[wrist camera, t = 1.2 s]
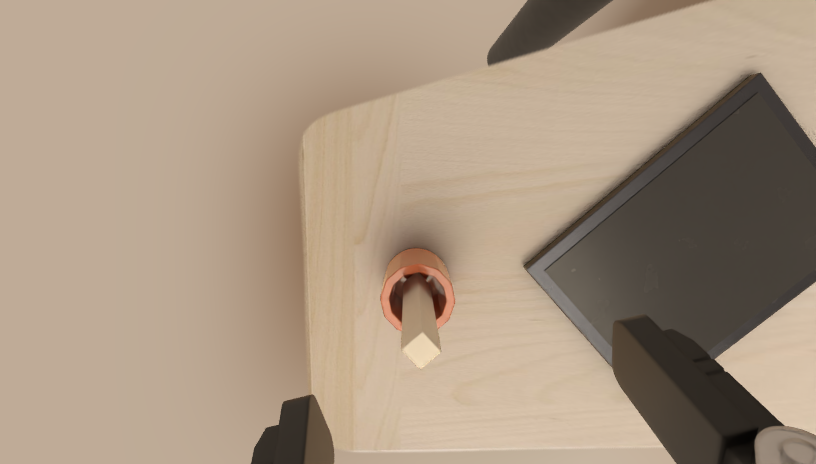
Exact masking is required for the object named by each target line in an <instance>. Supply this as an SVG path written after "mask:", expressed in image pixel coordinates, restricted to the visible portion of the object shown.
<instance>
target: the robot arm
mask: <svg viewBox="0 0 816 464" xmlns="http://www.w3.org/2000/svg"><path fill="white" fill-rule="evenodd" d="M612 367H613V371H614V374H615V377H616V379H617V381H618V383H619V385H620V387H621V388H622V390H623V391H624V392H625V394H626V395H627V396H628V398H629V399H630V400H631V402H632V403H633V405H634V406H635V407H636V409H637V410H638V411H639V413H640V414H641V416H642V417H643V418H644V420H645V421H646V422H647V424H648V425H649V427H650V428H651V429H652V431H653V432H654V433H655V435H656V436H657V437H658V439H659V440H660V442H661V443H662V444H663V446H664V447H665V448H666V450H667V451H668V453H669V454H670V455H671V457H672V458H673V459H674V461H675V462H676V463H677V464H816V435H814V434H812V433H809V432H807V431H804V430H801V429H798V428H794V427H788V426H784V425H783V424H782V423H781V422H780V421H779V420H777V419H776V418H775V417H774V416H773V415H772V414H771V413H770V412H769V411H768V410H767V409H766V408H765V407H764V406H763V405H762V404H761V403H760V402H759V401H757V400H756V399H755V398H754V397H753V396H752V395H751V394H750V393H749V392H748V391H747V390H746V389H745V388H744V387H743V386H742V385H741V384H740V383H738V382H737V381H736V380H735V379H734V378H733V377H732V376H731V375H730V374H729V373H728V372H725V371H724V368H723V367H722V366H721V365H719V364H718V363H717V362H716V361H715V360H714V359H711V358H710V355H709V354H708V353H707V352H706V351H705V350H704V349H703V348H702V347H700V346H699V345H698V344H697V343H696V342H695V341H694V340H693V339H691V338H689V337H687V336H685V335H683V334H681V333H679V332H677V331H675V330H673V329H668V330H664V331H663V330H662V329H661V328H660V327H659V326H658V325H657V324H656V323H655V322H654V321H653V320H652V319H651V318H650V317H649V316H647V315H645V314H641V315H637V316H633V317H629V318H625V319H621V320H616V321H614V323H613V334H612ZM251 464H334V447H333V441H332V437H331V433H330V431H329V428H328V426H327V424H326V421H325V419H324V416H323V414H322V412H321V409H320V407H319V405H318V402H317V400H316V398H315V396H314V395H313V394H312V395H308V396H304V397H300V398H296V399H292V400H287V401H284V402H283V404H282V409H281V415H280V421H279V425H276V426H271V427H268V428H266V429H265V431H264V432H263V434H262V436H261V438H260V440H259V441H258V443H257V444H256V446H255V448H254V452H253V457H252V462H251Z"/></svg>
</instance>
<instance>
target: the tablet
mask: <svg viewBox="0 0 816 464" xmlns="http://www.w3.org/2000/svg"><path fill="white" fill-rule="evenodd" d="M524 268H525V269H526V271H527V272H528V273H529V274H530V275H531V276H532V277H533V279H534V280H535V281H536V282H537V283H538V284H539V285H540V286H541V288H542V289H543V290H544V291H545V292H546V293H547V294H548V296H549V297H550V298H551V299H552V300H553V301H554V302H555V303H556V305H557V306H558V307H559V308H560V309H561V310H562V311H563V313H564V314H565V315H566V316H567V317H568V318H569V319H570V320H571V322H572V323H573V324H574V325H575V326H576V327H577V328H578V330H579V331H580V332H581V333H582V334H583V335H584V336H585V337H586V339H587V340H588V341H589V342H590V343H591V344H592V345H593V347H594V348H595V349H596V350H597V351H598V352H599V353H600V354H601V356H602V357H603V358H604V359H605V360H606V361H607V362H608V364H609V365H610V366H611V367H612V334H613V323H614V321H616V320H621V319H625V318H629V317H633V316H637V315H641V314H645V315H647V316H649V317H650V318H651V319H652V320H653V321H654V322H655V323H656V324H657V325H658V326H659V327H660V328H661V329H662V330H663V331H664V330H668V329H673V330H675V331H677V332H679V333H681V334H683V335H685V336H687V337H689V338H691V339H693V340H694V341H695V342H696V343H697V344H698V345H699V346H700V347H702V348H703V349H704V350H705V351H706V352H707V353H708V354H709V355H710V358H711V359H715V358H716V357H718V356H719V355H720V354H722V353H723V352H724V351H726V350H727V349H728V348H729V347H731V346H732V345H733V344H735V343H736V342H737V341H739V340H740V339H741V338H743V337H744V336H745V335H746V334H748V333H749V332H750V331H752V330H753V329H754V328H756V327H757V326H758V325H760V324H761V323H762V322H764V321H765V320H766V319H767V318H769V317H770V316H771V315H773V314H774V313H775V312H777V311H778V310H779V309H781V308H782V307H783V306H784V305H786V304H787V303H788V302H790V301H791V300H792V299H794V298H795V297H796V296H798V295H799V294H800V293H801V292H803V291H804V290H805V289H807V288H808V287H809V286H811V285H812V284H813V283H815V282H816V148H815V146H814V145H813V143H812V142H811V141H810V139H809V138H808V137H807V135H806V134H805V132H804V131H803V130H802V128H801V127H800V126H799V124H798V123H797V122H796V120H795V119H794V117H793V116H792V115H791V113H790V112H789V111H788V109H787V108H786V107H785V105H784V104H783V102H782V101H781V100H780V98H779V97H778V96H777V94H776V93H775V92H774V90H773V89H772V87H771V86H770V85H769V83H768V82H767V81H766V79H765V78H764V77H763V75H762V74H761V73H757V74H753V75H750V76H749V77H748V78H747V79H745V80H744V81H743V82H742V83H741V84H739V85H738V86H737V87H736V88H735V89H733V90H732V91H731V92H730V93H729V94H728V95H726V96H725V97H724V98H723V99H722V100H720V101H719V102H718V103H717V104H716V105H714V106H713V107H712V108H711V109H710V110H709V111H707V112H706V113H705V114H704V115H703V116H701V117H700V118H699V119H698V120H697V121H696V122H694V123H693V124H692V125H691V126H690V127H688V128H687V129H686V130H685V131H684V132H682V133H681V134H680V135H679V136H678V137H677V138H675V139H674V140H673V141H672V142H671V143H669V144H668V145H667V146H666V147H665V148H663V149H662V150H661V151H660V152H659V153H658V154H656V155H655V156H654V157H653V158H652V159H650V160H649V161H648V162H647V163H646V164H645V165H643V166H642V167H641V168H640V169H639V170H637V171H636V172H635V173H634V174H633V175H631V176H630V177H629V178H628V179H627V180H626V181H624V182H623V183H622V184H621V185H620V186H618V187H617V188H616V189H615V190H614V191H612V192H611V193H610V194H609V195H608V196H607V197H605V198H604V199H603V200H602V201H601V202H599V203H598V204H597V205H596V206H595V207H594V208H592V209H591V210H590V211H589V212H588V213H586V214H585V215H584V216H583V217H582V218H580V219H579V220H578V221H577V222H576V223H575V224H573V225H572V226H571V227H570V228H569V229H567V230H566V231H565V232H564V233H563V234H561V235H560V236H559V237H558V238H557V239H556V240H554V241H553V242H552V243H551V244H550V245H548V246H547V247H546V248H545V249H544V250H543V251H541V252H540V253H539V254H538V255H537V256H535V257H534V258H533V259H532V260H531V261H529V262H528V263H527V264H526V265H525V266H524ZM612 368H613V367H612Z"/></svg>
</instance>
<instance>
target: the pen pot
mask: <svg viewBox="0 0 816 464" xmlns="http://www.w3.org/2000/svg"><path fill="white" fill-rule="evenodd" d="M418 272H419V273H420V274H421V275H422V276H423V277H424V278H425V279H426V280H427V281H428V283H429V284H430V288H431V294H432V299H433V305H434V311H435V317H436V323H437V329H439V328H440V327H441V326H442V325H443V324H445V323H446V322H447V321H448V320H449V318H450V316H451V313H452V310H453V307H454V304H455V297H454V292H453V288H452V283H451V280H450V277H449V274H448V272H447V269H446V266H445V265H444V263H443V262H442V261H441V259H440V258H439V257H438V256H437V255H435V254H434V253H432V252H431V251H428V250H426V249H421V248H412V249H407V250H404V251H402V252H400V253H399V254H397V255H396V256H395V257H394V258H393V259H392V260H391V262H390V263H389V264H388V267H387V270H386V273H385V277H384V281H383V286H382V291H381V296H380V300H381V304H382V309H383V313H384V316H385V318H386V319H387V320H388V321H389V322H390V323H391V324H392V325H393V326H394V327H395V328H396V329H397V330H399V331H402V308H403V283H404V282H405V281H406V280H407V279H408V278H409V277H411V276H412V275H413V274H414V273H418Z"/></svg>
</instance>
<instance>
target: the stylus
mask: <svg viewBox="0 0 816 464" xmlns="http://www.w3.org/2000/svg"><path fill="white" fill-rule="evenodd" d="M401 350H402V352H403V353H404V354H405V355H406V356H407V357H408V358H409V359H410V360H411V361H412V362H413V363H414V364H415V365H416V366H417V367H418V368H419V369H422V368H423V367H424V366H425V365H426V364H428V363H429V362H430V361H431V360H432V359H434V358H435V357H436V356H437V355H438V354H439V353H441V346H440V340H439V334H438V329H437V323H436V317H435V311H434V305H433V299H432V294H431V288H430V284H429V283H428V281H427V280H426V279H425V278H424V277H423V276H422V275H421V274H420V273H419V272H418V273H414V274H413V275H412V276H411V277H409V278H408V279H407V280H406V281H405V282H404V283H403V308H402V337H401Z"/></svg>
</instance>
